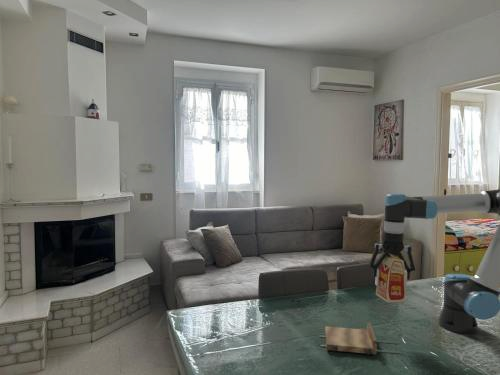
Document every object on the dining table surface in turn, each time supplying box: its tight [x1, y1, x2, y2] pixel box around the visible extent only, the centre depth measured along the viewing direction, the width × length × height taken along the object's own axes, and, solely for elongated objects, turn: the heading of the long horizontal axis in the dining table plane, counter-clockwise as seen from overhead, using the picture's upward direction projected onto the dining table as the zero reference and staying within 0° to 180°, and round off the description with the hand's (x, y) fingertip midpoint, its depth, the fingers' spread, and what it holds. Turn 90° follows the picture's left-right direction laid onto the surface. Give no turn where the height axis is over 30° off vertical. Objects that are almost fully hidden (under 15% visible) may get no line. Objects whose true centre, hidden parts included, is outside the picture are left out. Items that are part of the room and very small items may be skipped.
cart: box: [324, 322, 378, 355], centre depth 145 cm, size 18×18×5 cm
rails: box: [319, 335, 403, 355], centre depth 144 cm, size 30×9×1 cm, turn 80°
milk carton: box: [375, 252, 407, 304], centre depth 149 cm, size 9×9×20 cm
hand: (390, 285), depth 150 cm, fingers closed on milk carton, 10 cm apart
